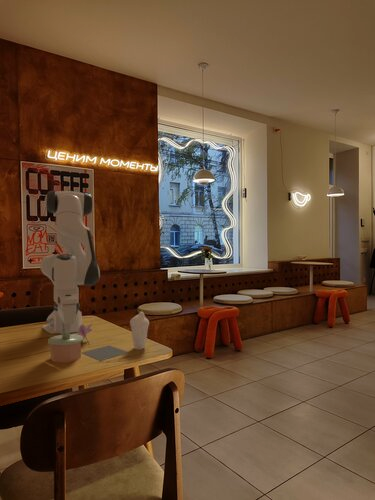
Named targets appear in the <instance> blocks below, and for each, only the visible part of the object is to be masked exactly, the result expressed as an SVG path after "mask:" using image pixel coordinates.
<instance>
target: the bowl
mask: <svg viewBox="0 0 375 500" xmlns="http://www.w3.org/2000/svg"><path fill="white" fill-rule="evenodd" d="M81 345H82V342H80V343H77V344H72V345H64V346H57V345H51V344H50V361H51V362H53V363H60V364H61V363H62V364H63V363H70V362H75V361H77V360H79V359H81V357H82V353H81V351H82V350H81V349H82V347H81Z"/></svg>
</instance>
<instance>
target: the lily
mask: <svg viewBox="0 0 375 500" xmlns="http://www.w3.org/2000/svg"><path fill="white" fill-rule="evenodd" d="M92 326H93V323H90V324H89V325H87V326H86V325H84V324H83V323H82V324H81V326H80V327H79V329H78V332H76V334H77V335H81V336H83V340H84V339H85V340H86V342H87V344H88V345H89V346H90V342H89V340H88V338H87V334H89V333H90V332H92V331H93V328H91V327H92Z"/></svg>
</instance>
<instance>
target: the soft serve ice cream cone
mask: <svg viewBox="0 0 375 500" xmlns="http://www.w3.org/2000/svg"><path fill="white" fill-rule="evenodd" d="M129 325H130V329H131V338H132V342H133V343H132V344H133V347H134V349H135V350H143V348H144V349H145V347H146V342H147V338H148V330H149V325H150V321H149V319H148V318H147V317H146V315H145V313H144V312H143V311H139V313H138V314H136V315H135V316H133V317H132V318H130V320H129Z"/></svg>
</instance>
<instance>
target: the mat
mask: <svg viewBox="0 0 375 500" xmlns="http://www.w3.org/2000/svg"><path fill="white" fill-rule="evenodd" d="M129 353H130V351H127V350H124V349H121V348H118V347H116V346H112V345H110V344H109V345H105V346H102V347H101V346H100V347H98V348H94V349H91V350H86V351H82V352H81V355H85V356H87V357H89V358H91V359H95V360H97V361H99V362H101V361H105V360H108V359H112V358H115V357H119V356H122V354H123V355H126V354H129Z"/></svg>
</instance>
